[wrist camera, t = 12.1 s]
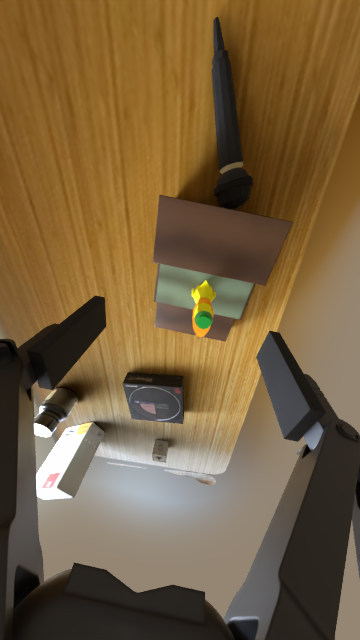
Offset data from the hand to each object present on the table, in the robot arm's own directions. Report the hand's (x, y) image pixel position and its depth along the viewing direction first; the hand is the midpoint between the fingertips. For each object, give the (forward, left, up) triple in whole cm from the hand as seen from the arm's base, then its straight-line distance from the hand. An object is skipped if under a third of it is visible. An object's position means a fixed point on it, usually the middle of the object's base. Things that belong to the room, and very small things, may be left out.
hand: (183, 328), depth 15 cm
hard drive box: (+74, -29, -26) cm, 83 cm away
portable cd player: (+43, -3, -26) cm, 50 cm away
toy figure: (+3, +2, -17) cm, 18 cm away
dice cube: (+72, +2, -26) cm, 76 cm away
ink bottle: (+54, -34, -26) cm, 68 cm away
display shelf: (+3, +2, -25) cm, 26 cm away
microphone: (-18, +1, -26) cm, 31 cm away
